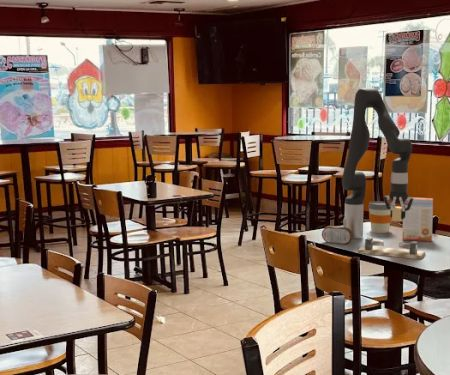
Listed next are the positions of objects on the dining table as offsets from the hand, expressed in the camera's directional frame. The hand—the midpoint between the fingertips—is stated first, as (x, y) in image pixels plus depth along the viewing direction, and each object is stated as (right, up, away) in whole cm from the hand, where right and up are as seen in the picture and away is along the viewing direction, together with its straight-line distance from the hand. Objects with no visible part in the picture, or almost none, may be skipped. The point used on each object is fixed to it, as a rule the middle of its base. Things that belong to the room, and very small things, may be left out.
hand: (397, 218), depth 322 cm
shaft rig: (-5, -16, -8) cm, 18 cm away
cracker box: (+15, -12, +23) cm, 30 cm away
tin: (-26, -13, +15) cm, 32 cm away
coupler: (0, -1, 0) cm, 1 cm away
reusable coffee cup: (+2, -9, +45) cm, 46 cm away
